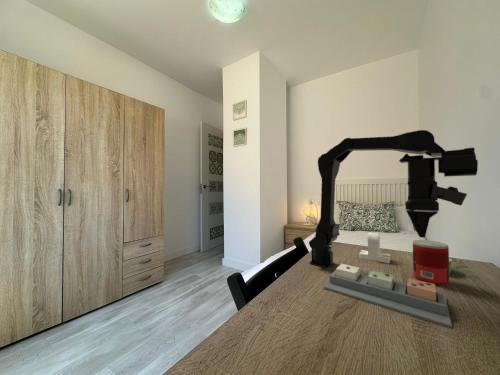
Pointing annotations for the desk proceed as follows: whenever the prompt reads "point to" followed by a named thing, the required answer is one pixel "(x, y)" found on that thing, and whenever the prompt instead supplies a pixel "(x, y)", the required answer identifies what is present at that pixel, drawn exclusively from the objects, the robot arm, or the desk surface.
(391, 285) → the tile
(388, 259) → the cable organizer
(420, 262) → the canned food
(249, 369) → the desk surface
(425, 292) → the tile
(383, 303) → the board
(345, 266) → the tile
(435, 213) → the robot arm
